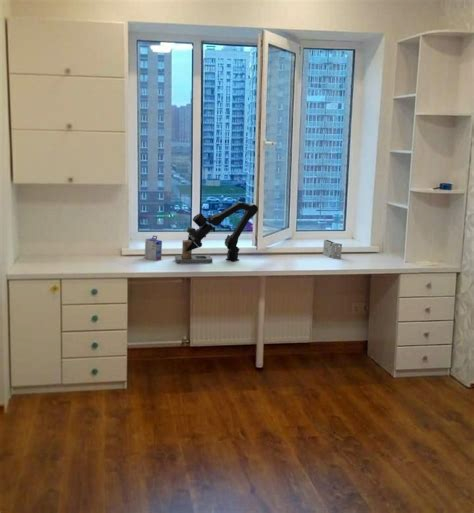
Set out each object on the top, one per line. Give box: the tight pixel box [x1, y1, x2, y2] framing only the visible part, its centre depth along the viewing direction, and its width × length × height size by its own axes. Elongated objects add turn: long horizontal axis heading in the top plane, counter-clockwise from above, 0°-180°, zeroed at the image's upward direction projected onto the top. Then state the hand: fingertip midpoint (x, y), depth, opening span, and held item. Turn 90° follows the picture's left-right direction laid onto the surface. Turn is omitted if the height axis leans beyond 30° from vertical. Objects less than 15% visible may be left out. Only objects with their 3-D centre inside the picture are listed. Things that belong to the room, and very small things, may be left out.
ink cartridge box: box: [144, 235, 163, 262], centre depth 401 cm, size 10×6×14 cm, turn 53°
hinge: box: [322, 239, 343, 259], centre depth 430 cm, size 14×5×10 cm, turn 41°
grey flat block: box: [174, 254, 213, 264], centre depth 402 cm, size 22×9×2 cm, turn 104°
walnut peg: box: [181, 239, 193, 259], centre depth 400 cm, size 5×5×13 cm
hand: (185, 249), depth 399 cm, fingers open, 9 cm apart
